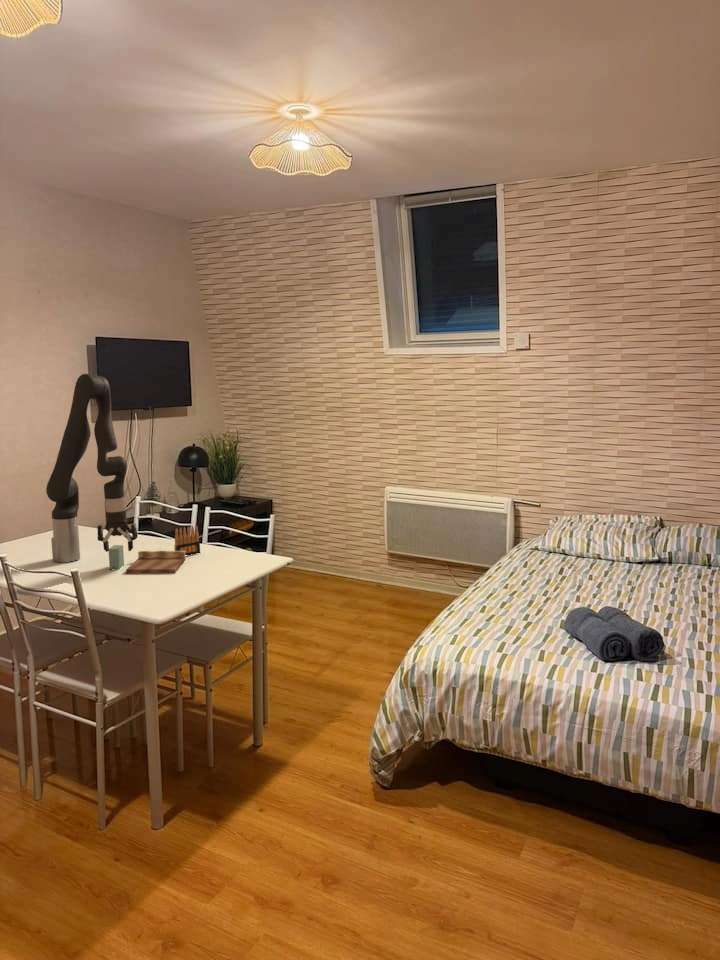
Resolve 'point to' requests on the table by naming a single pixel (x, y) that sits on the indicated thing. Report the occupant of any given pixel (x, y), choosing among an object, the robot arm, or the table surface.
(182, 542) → the ammunition clip
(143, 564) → the walnut board
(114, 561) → the green rectangular block
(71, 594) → the table surface
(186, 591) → the table surface
